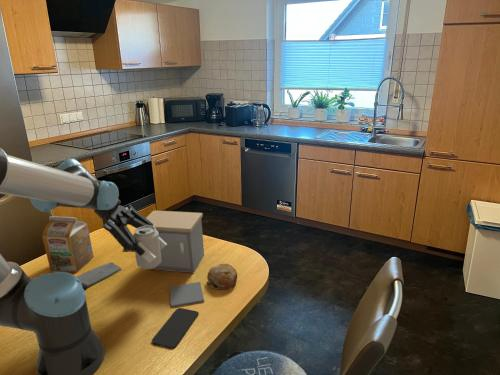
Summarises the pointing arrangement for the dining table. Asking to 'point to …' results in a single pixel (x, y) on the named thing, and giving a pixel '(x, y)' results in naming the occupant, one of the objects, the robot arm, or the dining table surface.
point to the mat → (186, 294)
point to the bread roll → (222, 277)
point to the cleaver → (97, 274)
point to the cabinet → (179, 239)
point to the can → (148, 246)
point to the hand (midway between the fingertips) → (158, 253)
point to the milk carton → (67, 244)
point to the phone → (175, 328)
